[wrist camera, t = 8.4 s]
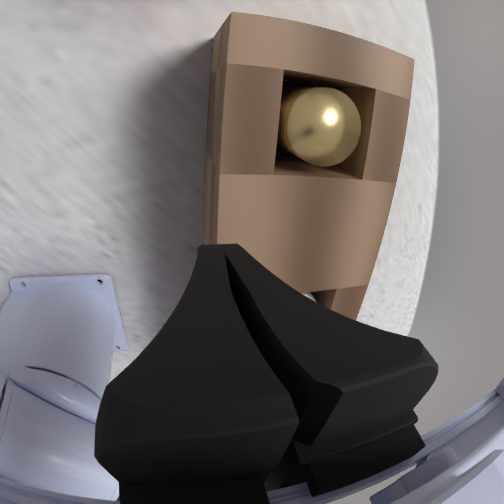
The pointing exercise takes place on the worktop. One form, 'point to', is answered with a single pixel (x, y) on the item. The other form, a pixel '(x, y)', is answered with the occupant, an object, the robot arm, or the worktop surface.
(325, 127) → the brass peg
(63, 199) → the worktop surface
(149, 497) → the robot arm
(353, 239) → the walnut peg board
